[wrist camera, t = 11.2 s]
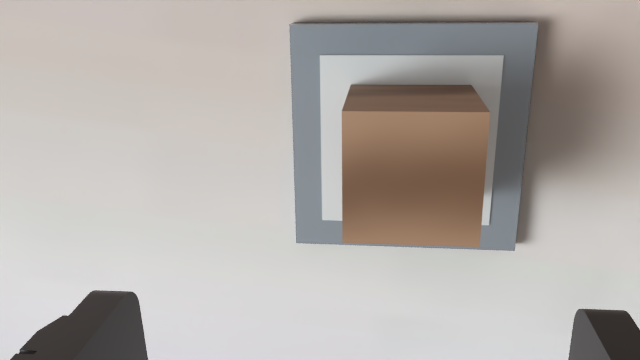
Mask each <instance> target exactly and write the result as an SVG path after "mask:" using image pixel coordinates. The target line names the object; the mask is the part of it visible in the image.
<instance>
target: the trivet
mask: <svg viewBox="0 0 640 360" xmlns="http://www.w3.org/2000/svg"><path fill="white" fill-rule="evenodd" d="M537 33H538V23H536V22H424V23H292V24H290V53H291V85H292V118H293V151H294V183H295V216H296V243H311V244H339V245H367V246H395V247H423V248H451V249H479V250H507V251H515V243H516V234H517V224H518V215H519V205H520V195H521V186H522V176H523V167H524V157H525V147H526V138H527V128H528V119H529V109H530V100H531V90H532V80H533V71H534V61H535V52H536V42H537ZM351 85H472V86H473V88H474V89H475V91H476V92H477V94H478V95H479V97H480V98H481V99H482V101H483V102H484V104H485V105H486V107H487V108H488V110H489V111H490V123H489V136H488V148H487V161H486V174H485V187H484V199H483V212H482V225H481V237H480V247H459V246H428V245H397V244H365V243H342V109H343V106H344V103H345V100H346V97H347V94H348V91H349V88H350V86H351Z"/></svg>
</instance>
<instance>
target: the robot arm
mask: <svg viewBox="0 0 640 360" xmlns="http://www.w3.org/2000/svg"><path fill="white" fill-rule="evenodd" d="M10 360H148V357H147V351H146V344H145V338H144V331H143V325H142V318H141V312H140V305H139V301H138V298H137V296H136V294H135V293H133V292H125V291H97V290H95V291H92V292H90V293H89V294H88V295H87V296H86V298H85V299H84V300H83V301H82V302H81V303H80V304H79V305H78V306H77V307H76V309H75V310H74V311H73V312H72V313H71V314H70V315H69V316H62V317H60V318H58V319H57V320H55V321H54V322H52V323H50V324H49V325H47V326H45V327H44V328H42V329H40V330H39V331H37V332H36V333H35V334H34V335H33V336H32V338H31V339H30V340H29V341H28V342H27V343H26V344H25V345H24V346H23V347H22V348H21V349H20V353H19V354H15V355H14V356H13V357H12V358H11V359H10ZM569 360H640V330H639V328H638V327H637V325H636V324H635V322H634V321H633V319H632V318H631V316H630V315H629V313H628V312H626V311H624V310H597V309H579V310H578V311H577V312H576V314H575V318H574V323H573V330H572V338H571V345H570V352H569Z"/></svg>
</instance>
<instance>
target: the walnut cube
mask: <svg viewBox="0 0 640 360" xmlns="http://www.w3.org/2000/svg"><path fill="white" fill-rule="evenodd" d="M489 123H490V111H489V110H488V108H487V107H486V105H485V104H484V102H483V101H482V99H481V98H480V97H479V95H478V94H477V92H476V91H475V89H474V88H473V86H472V85H351V86H350V88H349V91H348V94H347V97H346V100H345V103H344V106H343V109H342V243H365V244H397V245H428V246H459V247H480V237H481V225H482V212H483V199H484V187H485V174H486V161H487V148H488V136H489Z"/></svg>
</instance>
